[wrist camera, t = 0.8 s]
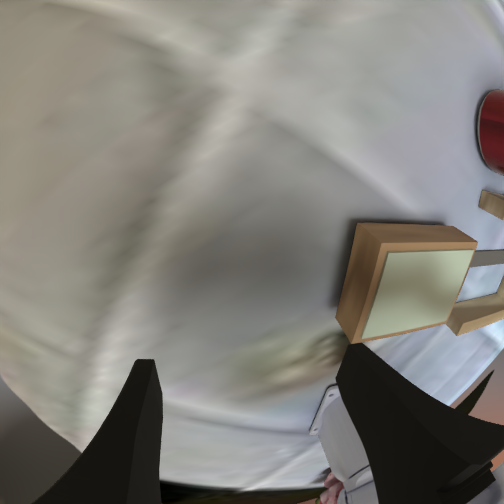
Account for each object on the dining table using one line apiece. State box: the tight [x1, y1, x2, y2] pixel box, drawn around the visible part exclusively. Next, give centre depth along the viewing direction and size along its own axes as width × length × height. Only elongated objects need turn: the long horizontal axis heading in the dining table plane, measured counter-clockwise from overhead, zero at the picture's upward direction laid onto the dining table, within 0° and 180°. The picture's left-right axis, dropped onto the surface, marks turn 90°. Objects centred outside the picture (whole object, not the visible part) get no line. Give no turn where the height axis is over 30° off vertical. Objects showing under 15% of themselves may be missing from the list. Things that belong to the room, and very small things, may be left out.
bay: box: [446, 190, 504, 336], centre depth 21 cm, size 13×12×3 cm
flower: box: [316, 471, 345, 504], centre depth 37 cm, size 15×15×10 cm
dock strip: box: [470, 250, 504, 267], centre depth 22 cm, size 2×9×1 cm, turn 87°
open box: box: [335, 222, 478, 344], centre depth 18 cm, size 7×9×4 cm
